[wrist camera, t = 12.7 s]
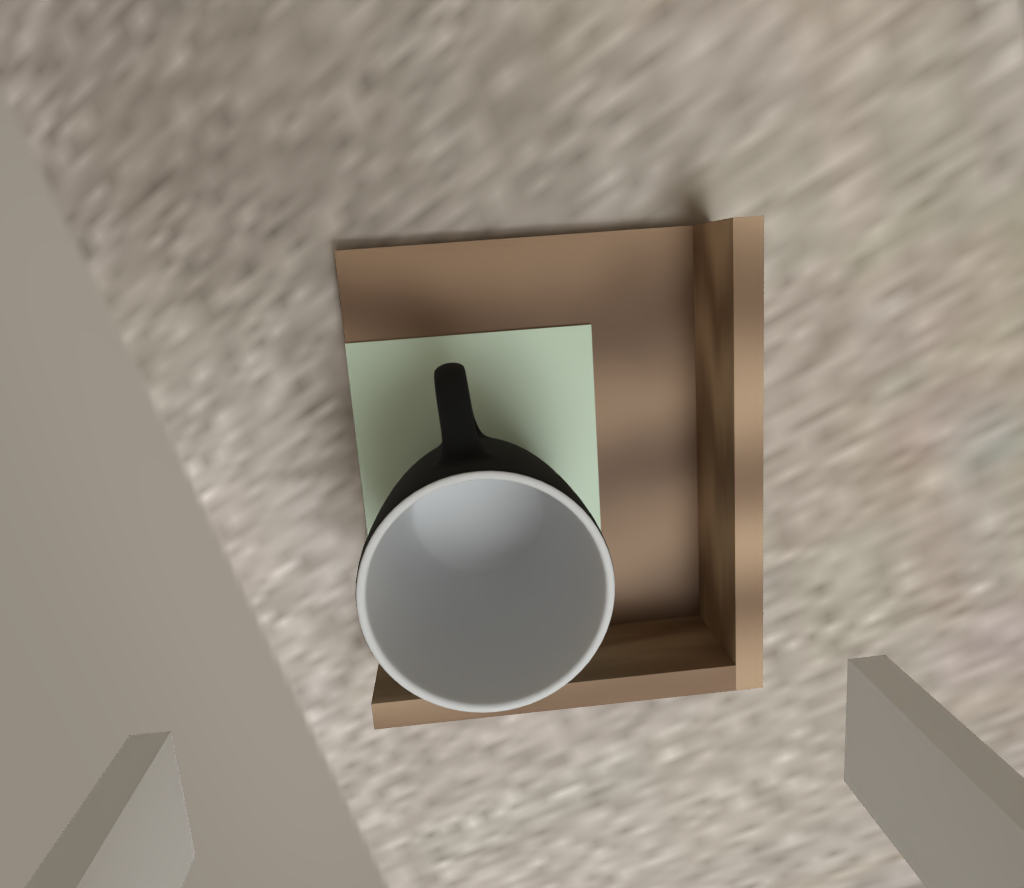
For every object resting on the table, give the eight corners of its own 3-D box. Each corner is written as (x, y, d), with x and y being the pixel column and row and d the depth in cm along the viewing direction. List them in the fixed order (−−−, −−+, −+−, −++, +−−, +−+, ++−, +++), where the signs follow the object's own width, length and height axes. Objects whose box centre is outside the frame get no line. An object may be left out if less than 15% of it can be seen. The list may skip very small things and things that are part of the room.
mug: (584, 578, 37) (632, 689, 27) (400, 612, 37) (383, 736, 27) (547, 332, 34) (585, 357, 25) (348, 366, 34) (307, 405, 24)
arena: (337, 251, 34) (314, 247, 28) (711, 224, 35) (763, 215, 29) (386, 660, 39) (374, 729, 33) (717, 626, 40) (762, 687, 34)
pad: (345, 343, 34) (344, 343, 34) (590, 324, 35) (591, 324, 35) (377, 613, 37) (377, 615, 37) (603, 591, 38) (603, 593, 37)
